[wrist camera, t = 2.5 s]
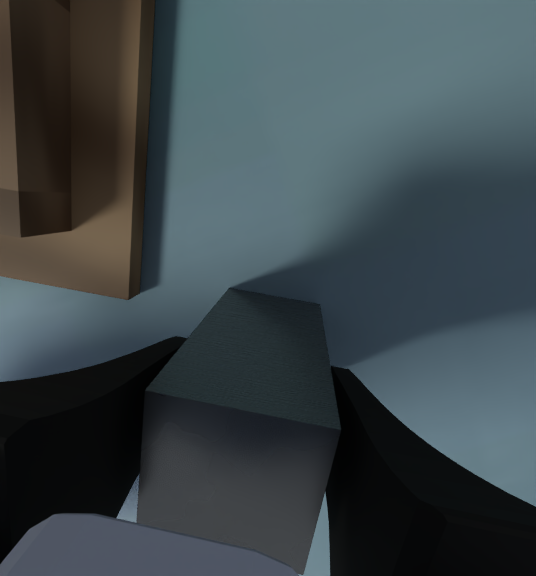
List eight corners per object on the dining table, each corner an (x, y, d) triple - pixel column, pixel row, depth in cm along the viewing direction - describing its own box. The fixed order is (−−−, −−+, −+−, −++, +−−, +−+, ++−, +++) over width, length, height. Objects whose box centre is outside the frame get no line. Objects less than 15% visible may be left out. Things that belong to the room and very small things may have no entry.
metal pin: (302, 385, 15) (303, 574, 8) (218, 368, 15) (135, 536, 8) (319, 304, 14) (340, 430, 6) (229, 288, 14) (145, 390, 7)
